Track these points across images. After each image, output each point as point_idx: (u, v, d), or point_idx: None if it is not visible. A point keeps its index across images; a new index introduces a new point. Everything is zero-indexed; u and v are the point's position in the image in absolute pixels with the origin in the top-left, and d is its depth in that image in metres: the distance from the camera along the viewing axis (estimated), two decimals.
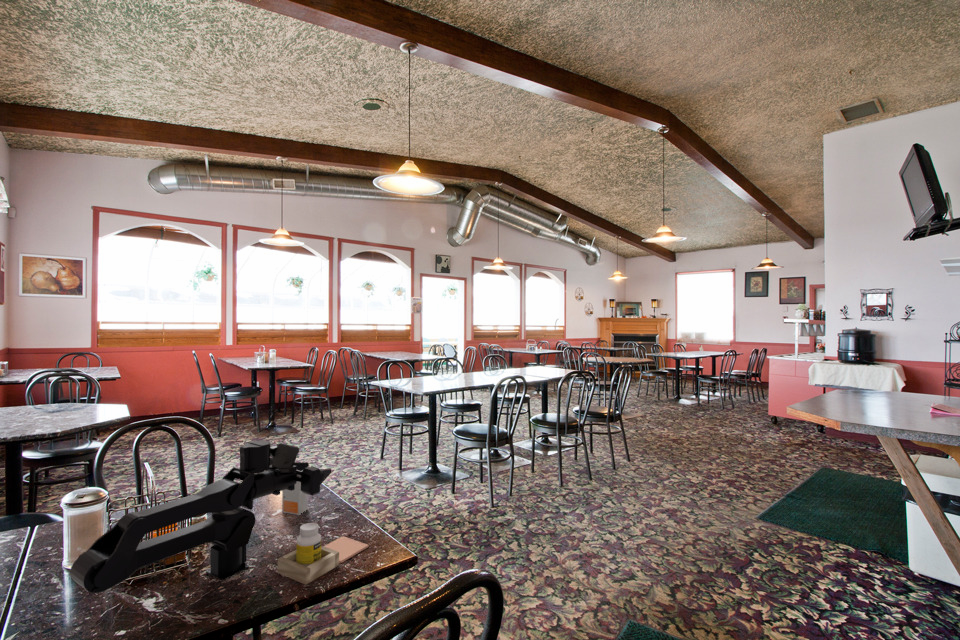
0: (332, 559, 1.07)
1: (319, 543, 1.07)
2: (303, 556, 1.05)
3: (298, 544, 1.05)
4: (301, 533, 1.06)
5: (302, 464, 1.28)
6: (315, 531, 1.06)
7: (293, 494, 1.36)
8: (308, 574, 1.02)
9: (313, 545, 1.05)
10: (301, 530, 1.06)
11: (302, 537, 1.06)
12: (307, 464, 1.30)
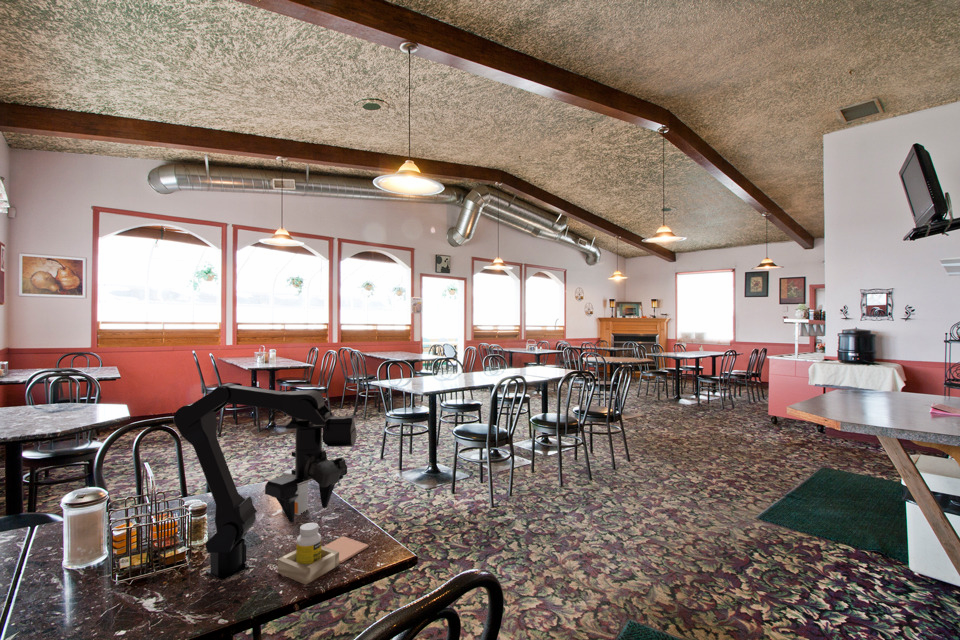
0: (332, 559, 1.07)
1: (319, 543, 1.07)
2: (303, 556, 1.05)
3: (298, 544, 1.05)
4: (301, 533, 1.06)
5: (325, 499, 1.11)
6: (315, 531, 1.06)
7: None
8: (308, 574, 1.02)
9: (313, 545, 1.05)
10: (301, 530, 1.06)
11: (302, 537, 1.06)
12: (324, 506, 1.11)
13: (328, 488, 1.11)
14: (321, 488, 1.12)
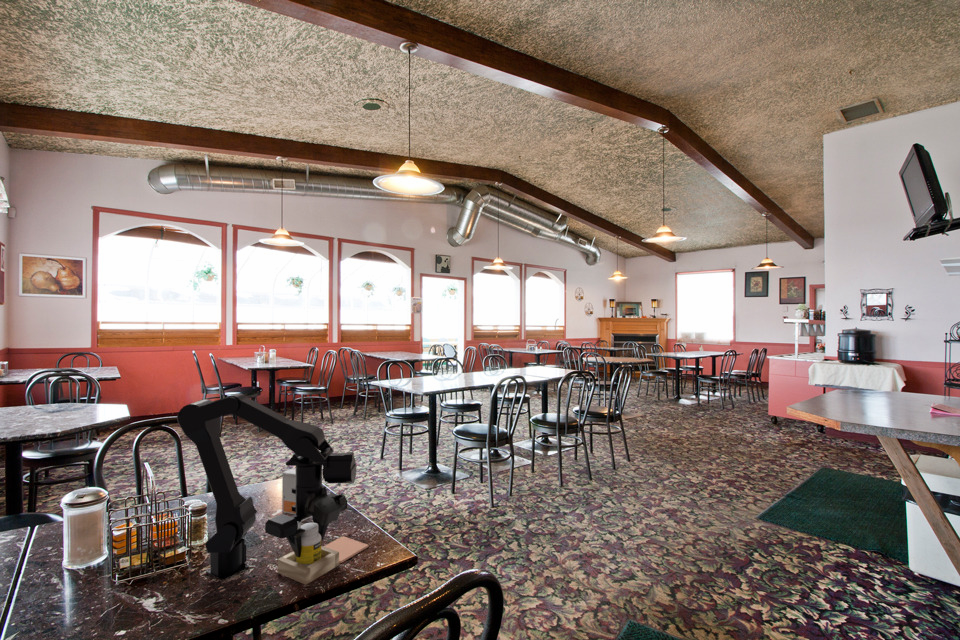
0: (332, 559, 1.07)
1: (319, 543, 1.07)
2: (303, 556, 1.05)
3: None
4: None
5: None
6: (315, 531, 1.06)
7: (293, 494, 1.36)
8: (308, 574, 1.02)
9: (313, 545, 1.05)
10: None
11: (302, 537, 1.06)
12: None
13: (322, 526, 1.10)
14: None
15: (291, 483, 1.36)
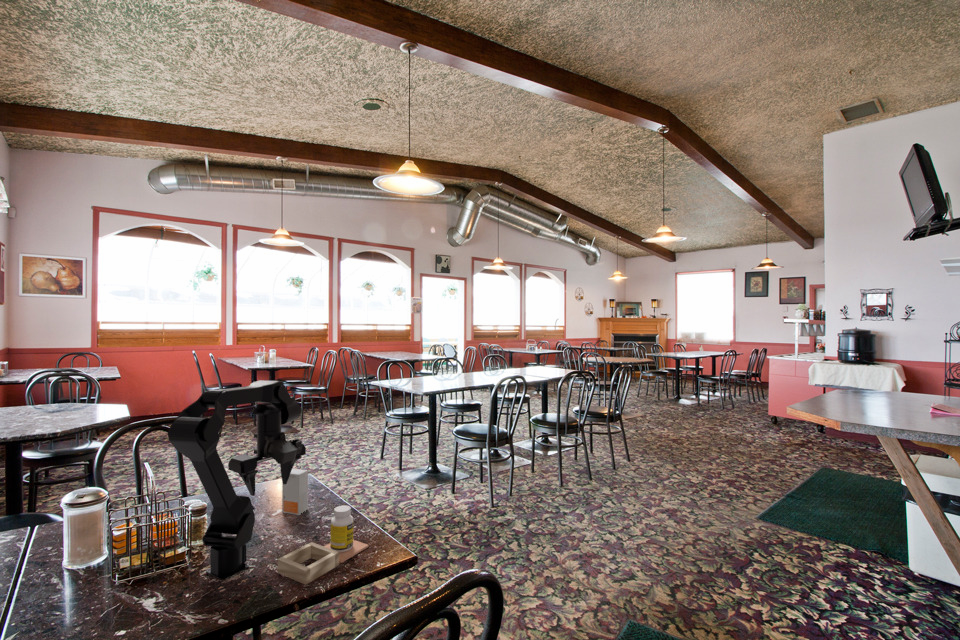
0: (332, 559, 1.07)
1: (352, 524, 1.15)
2: (338, 536, 1.13)
3: (333, 525, 1.14)
4: (335, 515, 1.14)
5: (285, 477, 1.25)
6: (348, 512, 1.15)
7: (293, 494, 1.36)
8: (308, 574, 1.02)
9: (346, 526, 1.14)
10: (335, 512, 1.14)
11: (336, 518, 1.14)
12: (284, 483, 1.25)
13: (288, 466, 1.25)
14: (282, 467, 1.26)
15: (291, 483, 1.36)
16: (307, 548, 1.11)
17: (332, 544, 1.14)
